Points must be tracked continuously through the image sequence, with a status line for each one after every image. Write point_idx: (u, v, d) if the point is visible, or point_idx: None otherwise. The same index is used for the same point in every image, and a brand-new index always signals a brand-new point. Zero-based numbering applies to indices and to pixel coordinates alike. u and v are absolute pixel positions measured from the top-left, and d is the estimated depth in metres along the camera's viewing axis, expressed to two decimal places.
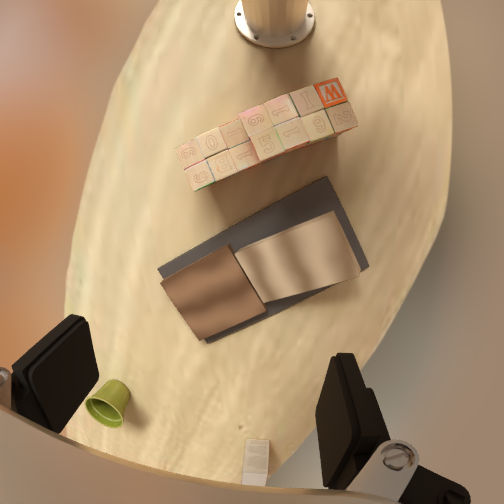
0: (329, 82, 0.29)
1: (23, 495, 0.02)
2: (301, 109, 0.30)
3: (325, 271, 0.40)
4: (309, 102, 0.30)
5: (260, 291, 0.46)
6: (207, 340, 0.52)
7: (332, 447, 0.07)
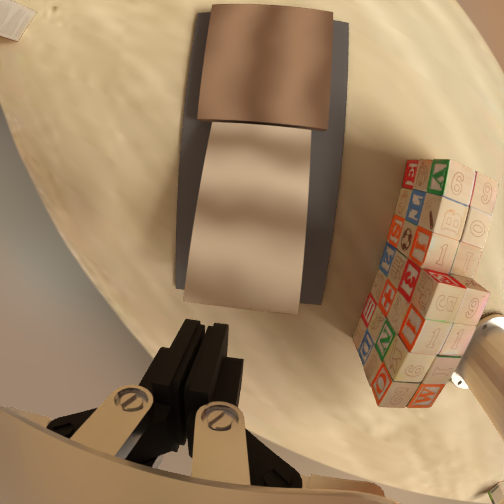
0: (433, 398, 0.22)
1: (23, 495, 0.02)
2: (441, 361, 0.20)
3: (215, 253, 0.24)
4: (439, 372, 0.21)
5: (233, 128, 0.26)
6: (202, 15, 0.24)
7: None
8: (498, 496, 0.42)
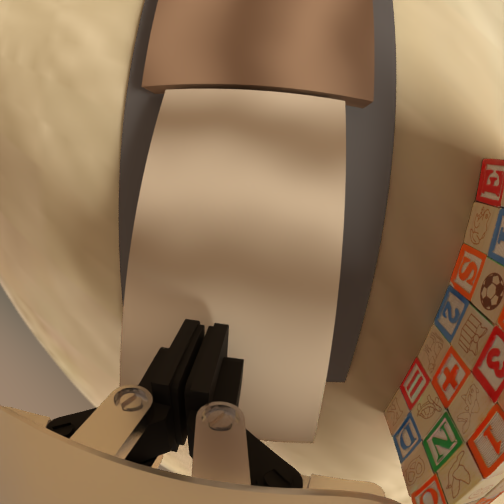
0: (488, 503, 0.09)
1: (23, 495, 0.02)
2: None
3: (165, 341, 0.12)
4: None
5: (200, 99, 0.13)
6: None
7: None
8: None
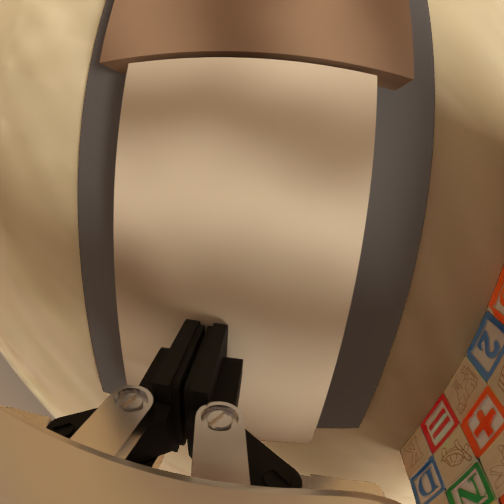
0: None
1: (23, 495, 0.02)
2: None
3: None
4: None
5: (175, 74, 0.09)
6: None
7: None
8: None
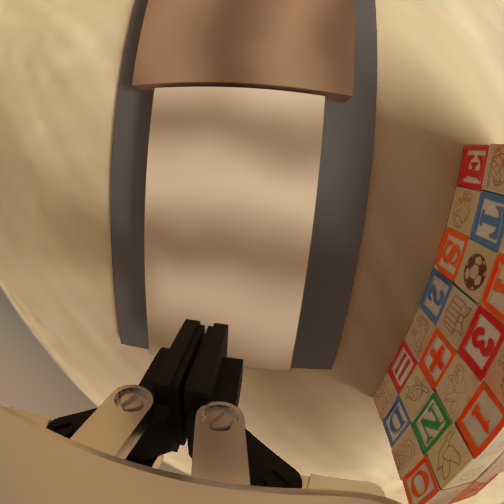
0: (482, 487, 0.10)
1: (23, 495, 0.02)
2: None
3: (179, 303, 0.17)
4: (500, 465, 0.09)
5: (188, 98, 0.14)
6: None
7: None
8: None
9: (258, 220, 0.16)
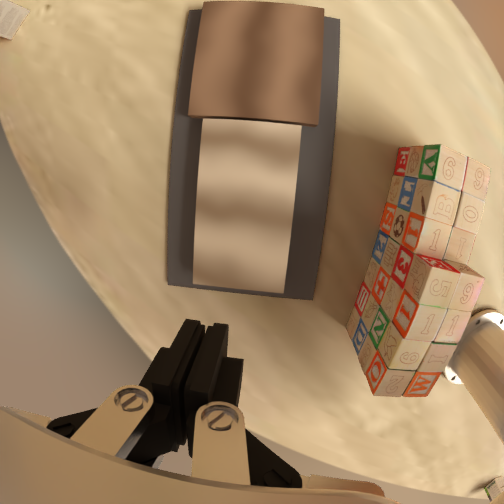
0: (430, 387, 0.22)
1: (23, 495, 0.02)
2: (436, 348, 0.20)
3: (215, 247, 0.29)
4: (434, 360, 0.21)
5: (223, 126, 0.26)
6: (194, 12, 0.24)
7: None
8: (495, 492, 0.44)
9: (263, 196, 0.27)
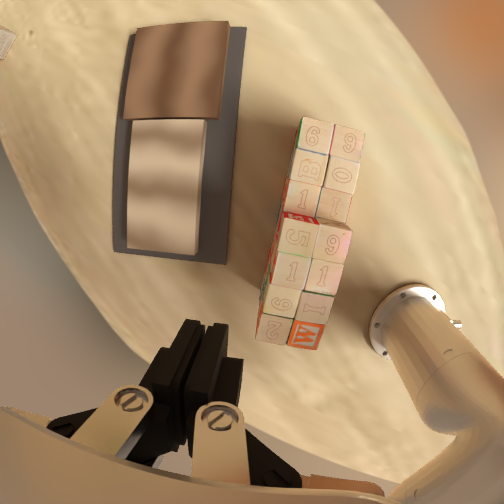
0: (316, 340, 0.28)
1: (23, 495, 0.02)
2: (309, 296, 0.27)
3: (142, 217, 0.35)
4: (310, 309, 0.27)
5: (147, 125, 0.32)
6: (133, 36, 0.31)
7: None
8: None
9: (175, 176, 0.34)
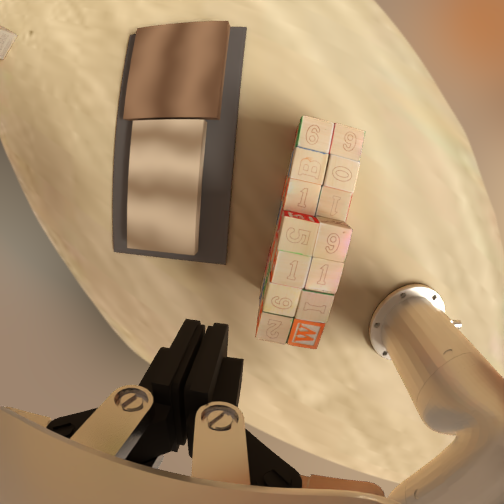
0: (316, 339, 0.28)
1: (23, 495, 0.02)
2: (309, 295, 0.27)
3: (142, 217, 0.35)
4: (311, 308, 0.27)
5: (147, 125, 0.32)
6: (133, 36, 0.31)
7: None
8: None
9: (175, 176, 0.34)
